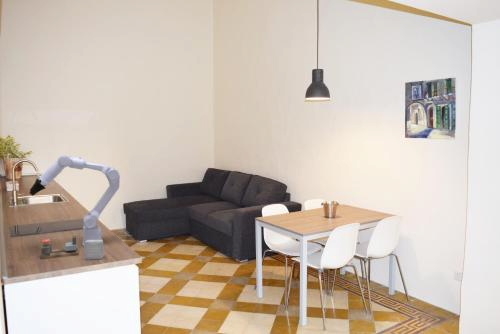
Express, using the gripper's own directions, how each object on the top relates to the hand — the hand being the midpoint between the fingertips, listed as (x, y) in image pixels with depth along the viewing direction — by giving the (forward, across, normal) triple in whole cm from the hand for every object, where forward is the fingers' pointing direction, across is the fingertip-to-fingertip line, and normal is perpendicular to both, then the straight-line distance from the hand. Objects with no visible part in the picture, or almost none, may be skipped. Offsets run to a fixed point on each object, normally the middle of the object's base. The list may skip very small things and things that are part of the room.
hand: (31, 193), depth 209 cm
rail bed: (+12, +15, +30) cm, 35 cm away
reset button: (+12, +14, +20) cm, 27 cm away
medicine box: (+2, +30, +40) cm, 49 cm away
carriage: (+7, +15, +31) cm, 36 cm away
